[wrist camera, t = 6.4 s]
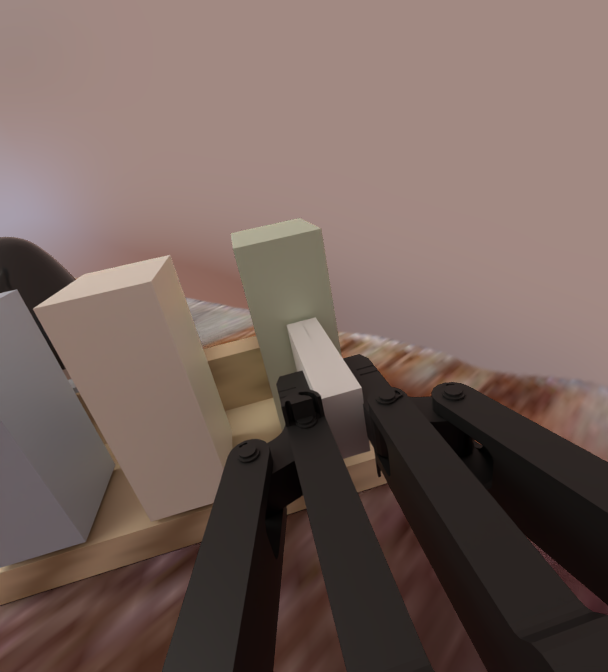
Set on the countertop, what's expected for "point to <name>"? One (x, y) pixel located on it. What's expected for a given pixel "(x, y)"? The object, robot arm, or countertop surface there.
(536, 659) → the robot arm
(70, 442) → the slate key
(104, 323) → the cream rectangular block
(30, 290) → the pump dispenser
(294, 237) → the pale green tall block
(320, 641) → the countertop surface
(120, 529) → the wooden key holder base
